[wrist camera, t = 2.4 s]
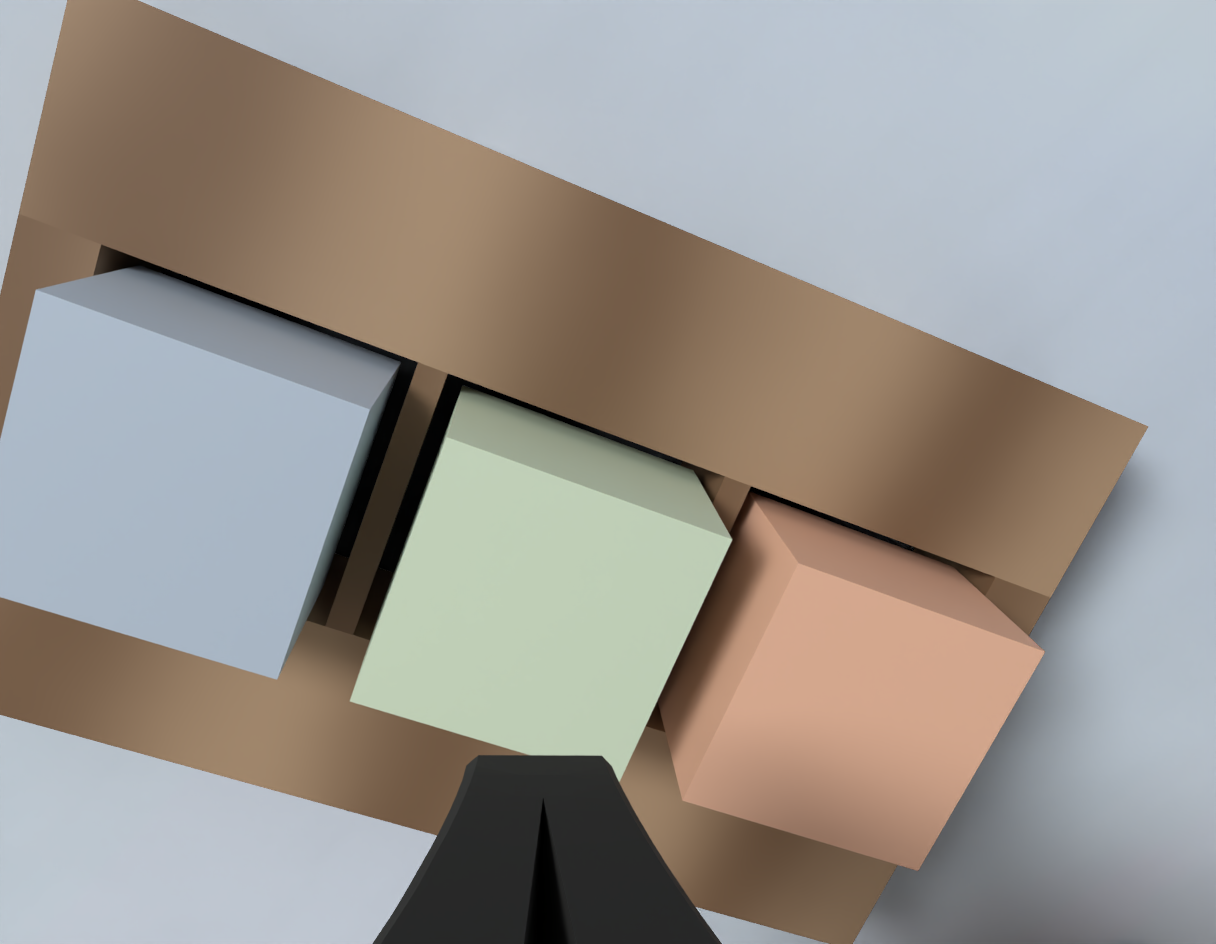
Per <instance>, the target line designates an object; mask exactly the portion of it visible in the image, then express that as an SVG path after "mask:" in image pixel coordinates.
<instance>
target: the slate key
mask: <svg viewBox="0 0 1216 944" xmlns="http://www.w3.org/2000/svg"><path fill="white" fill-rule="evenodd" d="M400 364H401V362H399V361H397V360H394V359H391V358H389V357H386V356H383V355H381V354H378V353H375V352H372V351H370V350H367V349H364V348H362V347H359V346H356V345H354V344H351V343H348V342H346V341H343V340H340V339H337V338H335V337H332V336H329V335H327V334H324V333H321V332H319V331H316V330H313V329H310V328H308V327H305V326H302V325H300V324H297V323H294V322H292V321H289V320H286V319H283V318H281V317H278V316H275V315H273V314H270V313H267V312H265V311H262V310H259V309H256V308H254V307H251V306H248V305H246V304H243V303H240V302H238V301H235V300H232V299H229V298H227V297H224V296H221V295H219V294H216V293H213V292H211V291H208V290H205V289H203V288H200V287H197V286H194V285H192V284H189V283H186V282H184V281H181V280H178V279H176V278H173V277H170V276H167V275H165V274H162V273H159V272H157V271H154V270H151V269H149V268H146V267H143V266H140V265H138V266H133V267H129V268H125V269H121V270H116V271H112V272H108V273H104V274H100V275H95V276H91V277H87V278H83V279H79V280H74V281H70V282H66V283H62V284H57V285H53V286H49V287H45V288H41V289H36V291H35V295H34V299H33V304H32V308H31V312H30V316H29V321H28V325H27V329H26V333H25V337H24V342H23V346H22V350H21V354H20V358H19V363H18V367H17V371H16V375H15V379H14V384H13V388H12V392H11V396H10V400H9V405H8V409H7V413H6V417H5V421H4V426H3V430H2V434H1V438H0V597H1V598H5V599H8V600H12V601H15V602H18V603H22V604H25V605H28V606H32V607H35V608H38V609H42V610H45V611H48V612H52V613H55V614H58V615H62V616H65V617H69V618H72V619H75V620H79V621H82V622H85V623H89V624H92V625H95V626H99V627H102V628H105V629H109V630H112V631H115V632H119V633H122V634H125V635H129V636H132V637H136V638H139V639H142V640H146V641H149V642H152V643H156V644H159V645H162V646H166V647H169V648H172V649H176V650H179V651H182V652H186V653H189V654H193V655H196V656H199V657H203V658H206V659H209V660H213V661H216V662H219V663H223V664H226V665H229V666H233V667H236V668H239V669H243V670H246V671H249V672H253V673H256V674H260V675H263V676H266V677H270V678H273V679H276V680H277V679H278V677H279V675H280V673H281V671H282V669H283V667H284V665H285V663H286V661H287V659H288V657H289V655H290V653H291V651H292V649H293V647H294V645H295V643H296V641H297V639H298V636H299V634H300V632H301V630H302V628H303V626H304V624H305V622H306V620H307V618H308V616H309V614H310V612H311V610H312V608H313V606H314V604H315V602H316V600H317V598H318V596H319V594H320V592H321V590H322V588H323V586H324V583H325V580H326V577H327V574H328V572H329V569H330V566H331V563H332V560H333V557H334V554H335V551H336V549H337V546H338V543H339V540H340V537H341V534H342V531H343V528H344V526H345V523H346V520H347V517H348V514H349V511H350V508H351V505H352V503H353V500H354V497H355V494H356V491H357V488H358V485H359V482H360V480H361V477H362V474H363V471H364V468H365V465H366V462H367V459H368V456H369V454H370V451H371V448H372V445H373V442H374V439H375V436H376V433H377V431H378V428H379V425H380V422H381V419H382V416H383V413H384V410H385V408H386V405H387V402H388V399H389V396H390V393H391V390H392V387H393V385H394V382H395V379H396V376H397V373H398V370H399V367H400Z"/></svg>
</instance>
